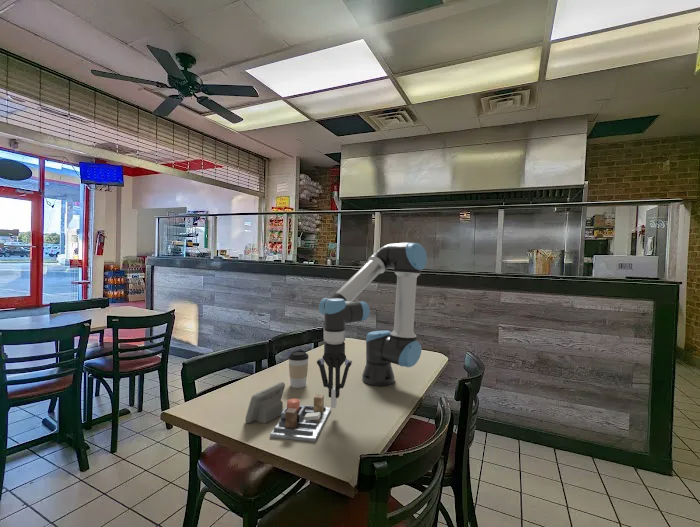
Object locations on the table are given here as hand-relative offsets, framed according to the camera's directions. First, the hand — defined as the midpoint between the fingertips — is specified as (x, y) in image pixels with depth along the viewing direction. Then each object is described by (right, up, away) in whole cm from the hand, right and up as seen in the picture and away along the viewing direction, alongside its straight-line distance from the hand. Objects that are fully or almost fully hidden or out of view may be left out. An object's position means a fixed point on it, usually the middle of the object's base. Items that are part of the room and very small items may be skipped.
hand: (333, 406), depth 124 cm
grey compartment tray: (-11, -4, -5) cm, 12 cm away
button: (-14, 0, -4) cm, 15 cm away
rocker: (-7, -1, -5) cm, 9 cm away
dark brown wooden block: (-14, -3, -11) cm, 18 cm away
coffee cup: (-18, -3, +30) cm, 35 cm away
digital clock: (-25, -4, 0) cm, 25 cm away
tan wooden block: (-6, -3, +1) cm, 6 cm away
